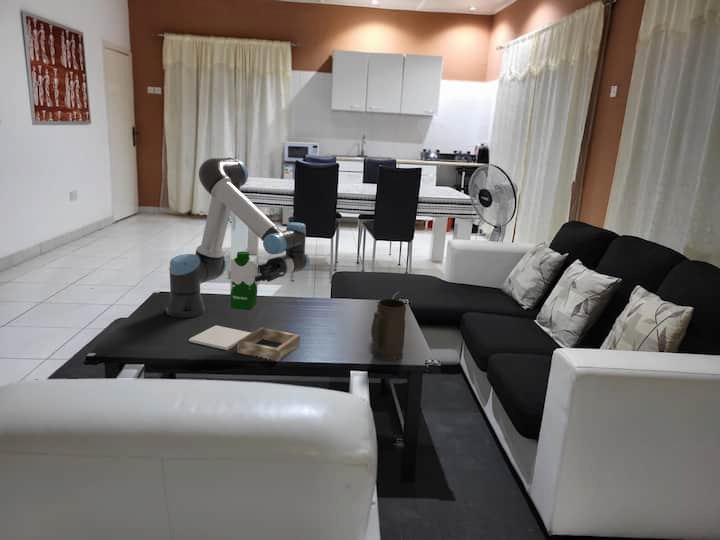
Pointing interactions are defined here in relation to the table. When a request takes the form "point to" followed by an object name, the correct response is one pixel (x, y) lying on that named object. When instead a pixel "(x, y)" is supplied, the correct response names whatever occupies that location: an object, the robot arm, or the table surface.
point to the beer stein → (389, 329)
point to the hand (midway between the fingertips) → (237, 278)
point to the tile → (219, 337)
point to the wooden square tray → (276, 354)
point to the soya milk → (243, 281)
